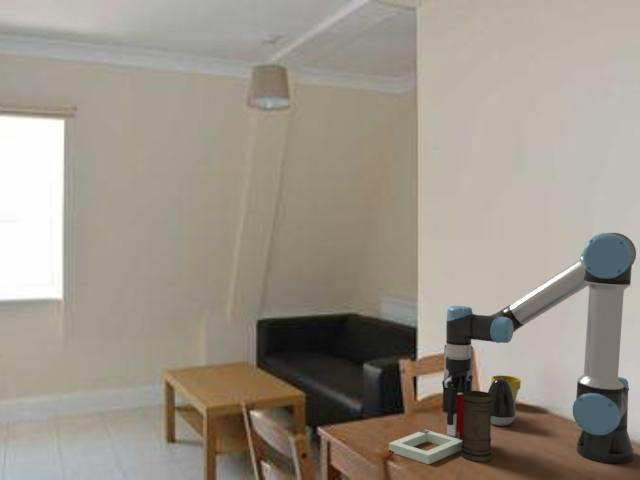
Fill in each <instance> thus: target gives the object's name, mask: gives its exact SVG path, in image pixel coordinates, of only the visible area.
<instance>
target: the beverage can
mask: <svg viewBox="0 0 640 480" xmlns="http://www.w3.org/2000/svg"><path fill="white" fill-rule="evenodd" d="M463 399H464V398H463V393H460V392H458V396H457V403H456V409H455V414H457V419H456V436H452V435H448V436H450V437H453V438H457V439H460V440H463V438H462V436H463V413H464V409H463V407H464V401H463Z"/></svg>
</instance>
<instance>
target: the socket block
mask: <svg viewBox="0 0 640 480" xmlns="http://www.w3.org/2000/svg"><path fill="white" fill-rule="evenodd" d="M426 442H427V443H432V444H435V445H437V446H435V447H432V448H431V449H428V450H424V449H421V448H417V447H416V446H418V445H421V444H424V443H426ZM462 444H463V440H460V439H457V438H453V437H450V436H449V435H447V434H442V433H438V432H436V431H435V432H434V431H431V430H428V429H423V430H420V431H418V432H414V433H413V434H409V435H407V436H403V437H402V438H398V439H396V440H393V441H390V442H389V443H388V451H389V450H391V451H393V452H394V453H393V454H395V455H398V456H401V457H404V458H408V459H411V460H413V461H416V462H420V463H423V464H426V465H431V464H433V463H435V462H437V461H440V460H442V459H444V458H446V457H449V456H451V455H453V454H456V453H458V452H461V450H462V448H461V446H462Z"/></svg>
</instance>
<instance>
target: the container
mask: <svg viewBox="0 0 640 480" xmlns="http://www.w3.org/2000/svg"><path fill="white" fill-rule="evenodd" d="M463 398H464V399H463V401H464V407H463V409H464V413H463V436H462V438H463V444H462V446H461V448H462V450H460V455H461V457H462V458H464V460H465V459H466V460H469V461H473V462H481V463H482V462H488V461H491V460H492V459H493V452H492V451H493V449H492V437H491V435H492V433H491V428H492V427H491V426H492V425H491V424H492V423H491V403H492V401H491V400H492V399H493V396H492V395H491V394H490V393H488V391H482V390H472V391H466V392H464V393H463Z"/></svg>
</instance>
